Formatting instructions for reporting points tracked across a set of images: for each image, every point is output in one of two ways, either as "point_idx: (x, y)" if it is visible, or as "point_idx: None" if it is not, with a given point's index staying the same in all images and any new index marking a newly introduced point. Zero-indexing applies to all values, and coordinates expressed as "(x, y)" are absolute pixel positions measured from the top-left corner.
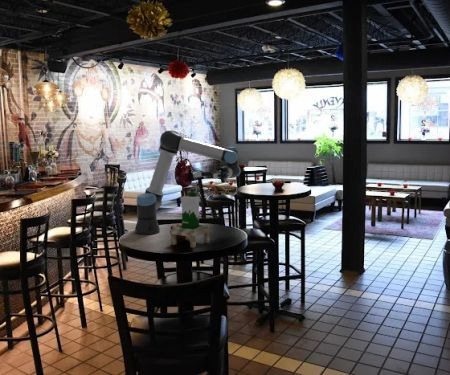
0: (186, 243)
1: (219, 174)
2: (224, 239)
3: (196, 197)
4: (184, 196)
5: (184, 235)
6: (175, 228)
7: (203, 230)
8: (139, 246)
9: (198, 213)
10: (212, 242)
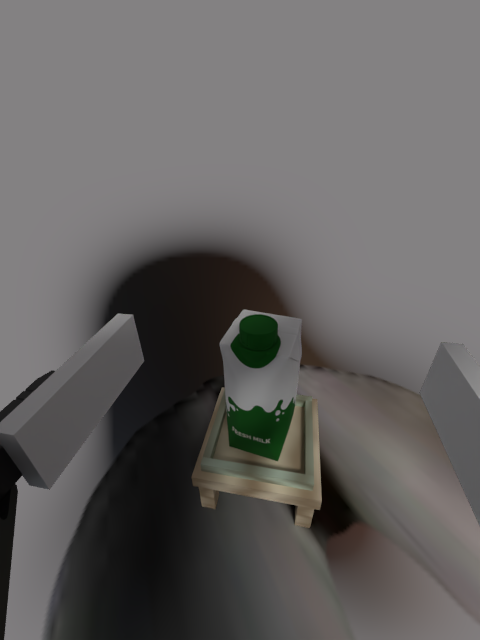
0: None
1: (42, 379)
2: (145, 586)
3: (228, 331)
4: (291, 327)
5: None
6: (297, 396)
7: (206, 433)
8: (370, 393)
9: (225, 392)
10: (188, 504)
